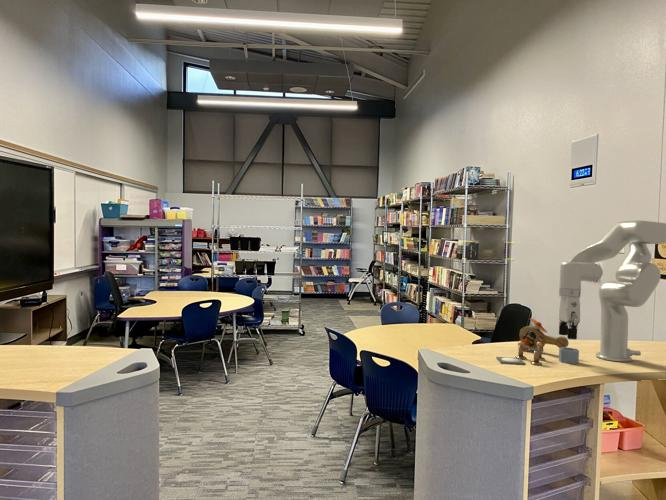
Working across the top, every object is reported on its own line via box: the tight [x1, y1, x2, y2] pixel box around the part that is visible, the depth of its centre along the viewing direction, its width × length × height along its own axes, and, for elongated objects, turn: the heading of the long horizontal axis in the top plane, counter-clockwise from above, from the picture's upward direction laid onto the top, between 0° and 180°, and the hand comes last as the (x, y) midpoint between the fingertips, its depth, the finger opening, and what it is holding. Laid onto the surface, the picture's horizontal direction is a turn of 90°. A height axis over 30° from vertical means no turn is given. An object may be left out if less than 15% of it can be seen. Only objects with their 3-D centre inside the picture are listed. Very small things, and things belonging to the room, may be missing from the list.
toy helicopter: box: [517, 318, 570, 352], centre depth 200 cm, size 8×21×14 cm, turn 39°
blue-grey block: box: [558, 347, 580, 365], centre depth 184 cm, size 6×6×5 cm
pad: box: [495, 356, 527, 366], centre depth 182 cm, size 9×9×1 cm
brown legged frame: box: [514, 340, 545, 366], centre depth 184 cm, size 11×13×7 cm
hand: (567, 336), depth 184 cm, fingers open, 9 cm apart
